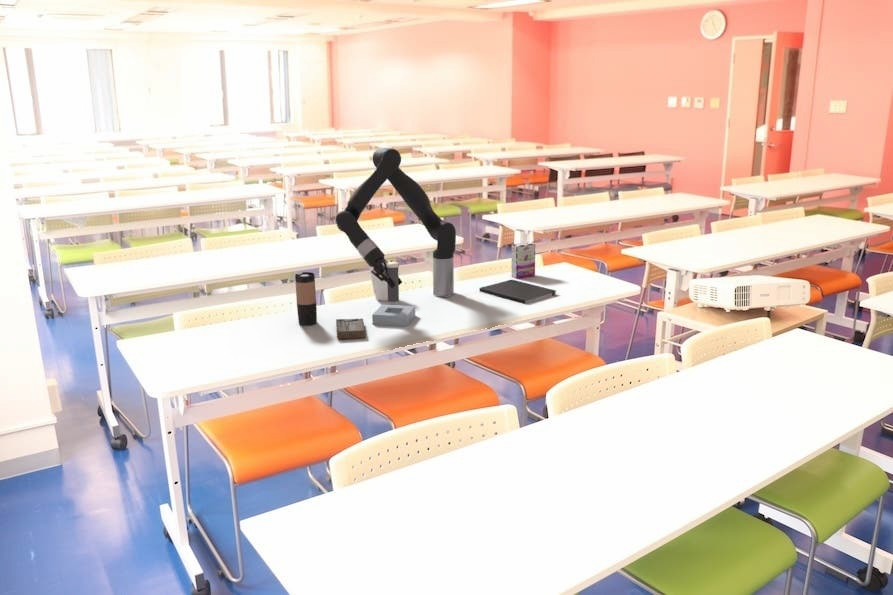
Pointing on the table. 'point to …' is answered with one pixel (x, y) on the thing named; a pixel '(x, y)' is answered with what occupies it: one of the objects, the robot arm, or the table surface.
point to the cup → (379, 286)
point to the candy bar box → (523, 260)
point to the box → (350, 328)
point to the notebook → (518, 291)
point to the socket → (393, 315)
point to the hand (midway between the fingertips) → (397, 285)
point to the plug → (393, 274)
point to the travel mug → (306, 298)
